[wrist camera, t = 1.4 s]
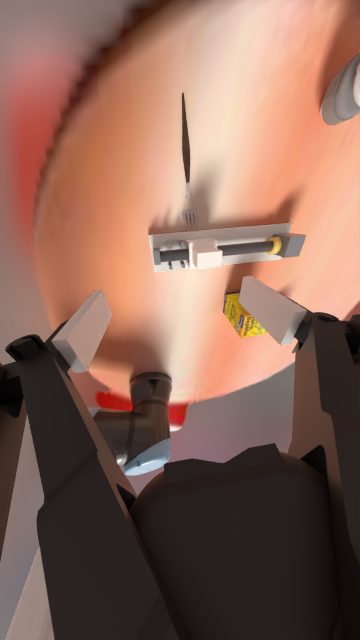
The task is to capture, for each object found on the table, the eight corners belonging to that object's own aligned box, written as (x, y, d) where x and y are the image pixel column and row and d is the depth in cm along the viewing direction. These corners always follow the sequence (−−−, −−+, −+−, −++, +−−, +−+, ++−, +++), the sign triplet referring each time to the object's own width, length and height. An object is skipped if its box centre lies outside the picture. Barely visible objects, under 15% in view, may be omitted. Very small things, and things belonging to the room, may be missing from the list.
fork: (191, 95, 21) (194, 84, 19) (196, 228, 30) (198, 228, 28) (173, 96, 21) (174, 86, 19) (183, 229, 30) (185, 230, 28)
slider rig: (154, 270, 33) (153, 280, 28) (148, 234, 29) (146, 238, 24) (278, 258, 35) (297, 264, 30) (288, 222, 31) (312, 223, 26)
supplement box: (224, 293, 39) (244, 316, 30) (246, 290, 39) (273, 311, 30) (222, 312, 42) (240, 338, 33) (243, 309, 42) (266, 334, 33)
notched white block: (186, 263, 32) (194, 275, 25) (185, 240, 29) (194, 246, 23) (209, 260, 32) (223, 272, 25) (210, 237, 30) (226, 243, 23)
